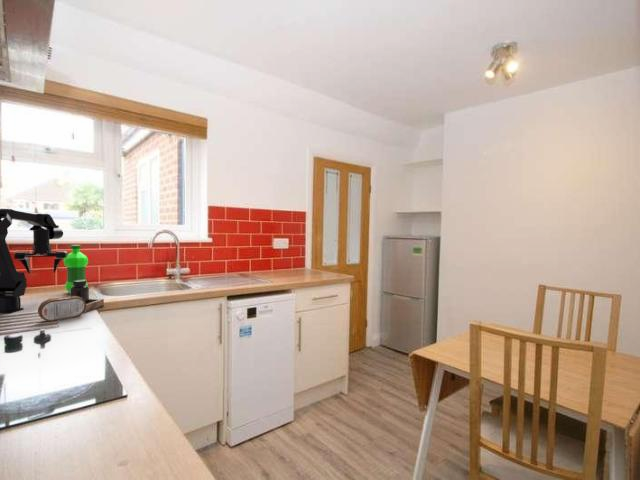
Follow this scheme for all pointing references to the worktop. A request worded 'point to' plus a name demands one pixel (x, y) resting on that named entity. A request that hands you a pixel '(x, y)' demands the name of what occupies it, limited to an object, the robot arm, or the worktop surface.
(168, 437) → the worktop surface
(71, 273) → the plastic bottle
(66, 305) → the tin
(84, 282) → the supplement bottle
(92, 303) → the keeper collar
